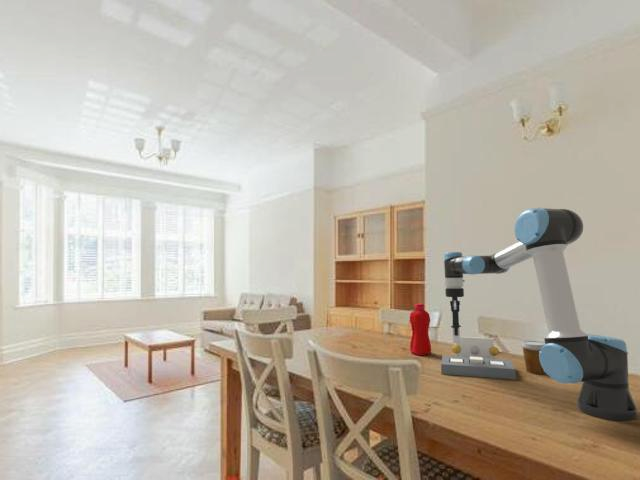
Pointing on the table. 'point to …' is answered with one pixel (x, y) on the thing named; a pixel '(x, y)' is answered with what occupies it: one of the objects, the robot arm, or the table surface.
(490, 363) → the button right
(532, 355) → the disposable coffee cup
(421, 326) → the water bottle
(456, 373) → the button board
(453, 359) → the button left
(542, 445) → the table surface
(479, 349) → the pattern sign
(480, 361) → the button middle
